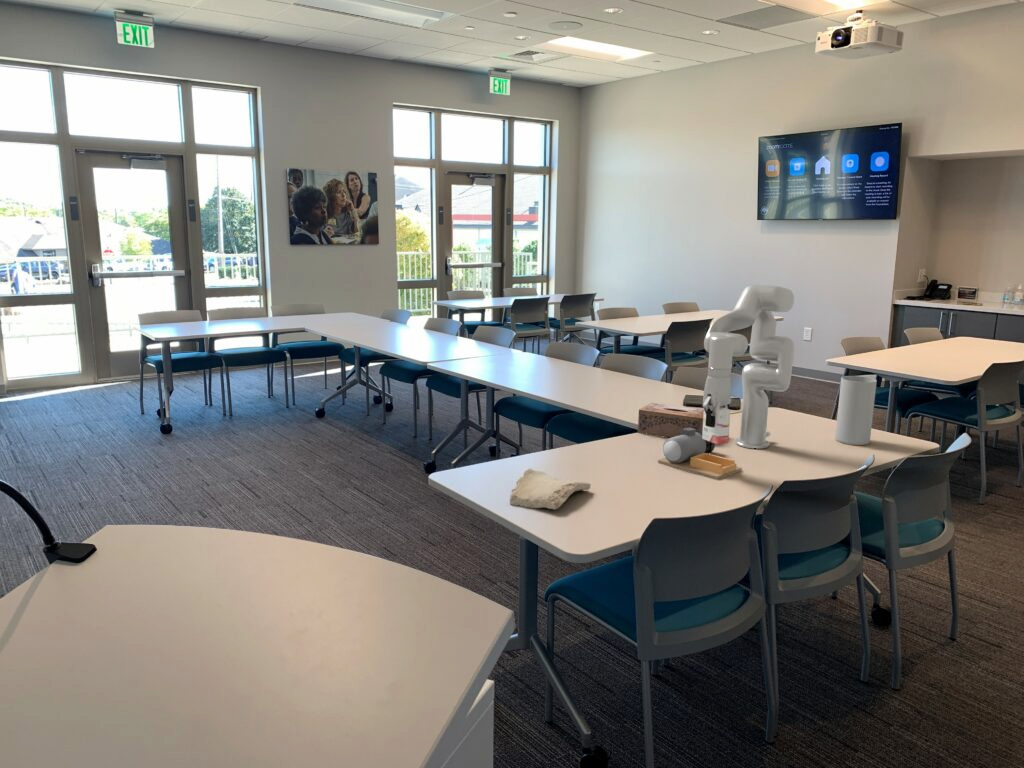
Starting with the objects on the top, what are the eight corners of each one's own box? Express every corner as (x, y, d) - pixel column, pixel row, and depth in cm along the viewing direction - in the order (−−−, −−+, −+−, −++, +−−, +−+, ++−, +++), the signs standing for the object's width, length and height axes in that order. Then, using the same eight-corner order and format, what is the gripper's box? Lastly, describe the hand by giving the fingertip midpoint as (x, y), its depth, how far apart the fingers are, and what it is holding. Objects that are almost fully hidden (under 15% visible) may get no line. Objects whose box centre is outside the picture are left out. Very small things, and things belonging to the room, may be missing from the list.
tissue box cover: (711, 434, 305) (712, 410, 303) (700, 443, 293) (702, 418, 291) (650, 425, 318) (651, 402, 316) (637, 433, 306) (638, 409, 304)
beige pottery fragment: (499, 505, 226) (558, 512, 216) (497, 481, 225) (557, 487, 215) (538, 485, 247) (594, 491, 236) (537, 463, 246) (593, 468, 235)
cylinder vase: (861, 437, 303) (868, 376, 298) (875, 446, 291) (882, 382, 286) (830, 436, 303) (836, 375, 298) (842, 445, 291) (849, 381, 286)
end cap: (715, 452, 280) (716, 435, 278) (705, 456, 275) (706, 438, 273) (691, 447, 287) (692, 429, 285) (681, 450, 282) (682, 433, 280)
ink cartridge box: (729, 443, 253) (732, 400, 250) (717, 445, 251) (719, 402, 248) (713, 437, 261) (715, 395, 258) (701, 438, 259) (703, 396, 256)
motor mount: (683, 454, 276) (685, 423, 274) (741, 470, 259) (744, 437, 256) (657, 462, 266) (659, 430, 264) (716, 479, 249) (719, 445, 246)
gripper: (724, 368, 260) (720, 419, 264) (694, 374, 249) (691, 426, 252) (743, 371, 255) (739, 423, 258) (714, 377, 243) (710, 431, 247)
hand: (715, 424), depth 255 cm, fingers closed on ink cartridge box, 6 cm apart
